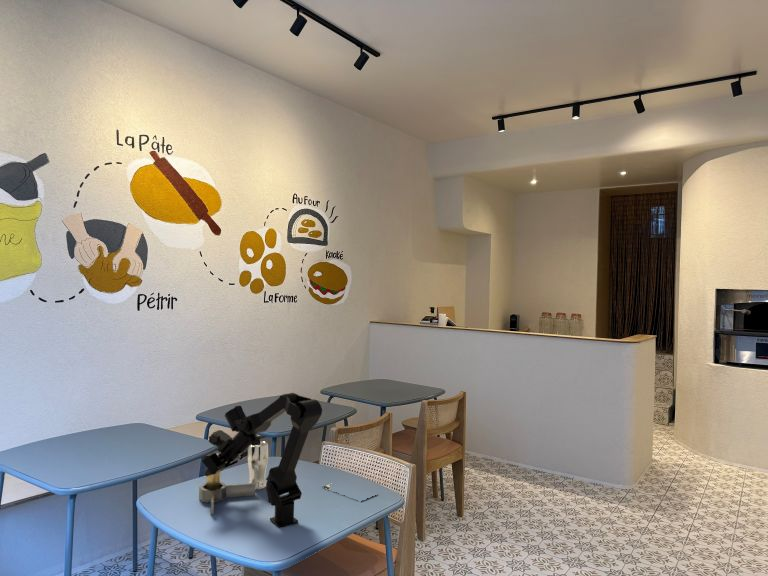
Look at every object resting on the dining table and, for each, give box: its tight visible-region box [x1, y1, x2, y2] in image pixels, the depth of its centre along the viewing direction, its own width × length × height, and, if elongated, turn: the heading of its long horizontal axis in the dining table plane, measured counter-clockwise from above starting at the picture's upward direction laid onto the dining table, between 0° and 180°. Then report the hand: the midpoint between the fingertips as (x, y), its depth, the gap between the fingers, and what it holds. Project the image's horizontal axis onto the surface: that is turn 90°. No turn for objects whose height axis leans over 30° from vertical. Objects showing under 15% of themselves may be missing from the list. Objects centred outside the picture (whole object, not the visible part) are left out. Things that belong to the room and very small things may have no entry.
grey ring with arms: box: [198, 481, 256, 516], centre depth 178 cm, size 17×18×4 cm
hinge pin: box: [205, 453, 222, 490], centre depth 179 cm, size 4×4×12 cm
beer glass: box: [247, 440, 269, 491], centre depth 191 cm, size 7×7×15 cm
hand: (210, 472), depth 180 cm, fingers closed on hinge pin, 4 cm apart
